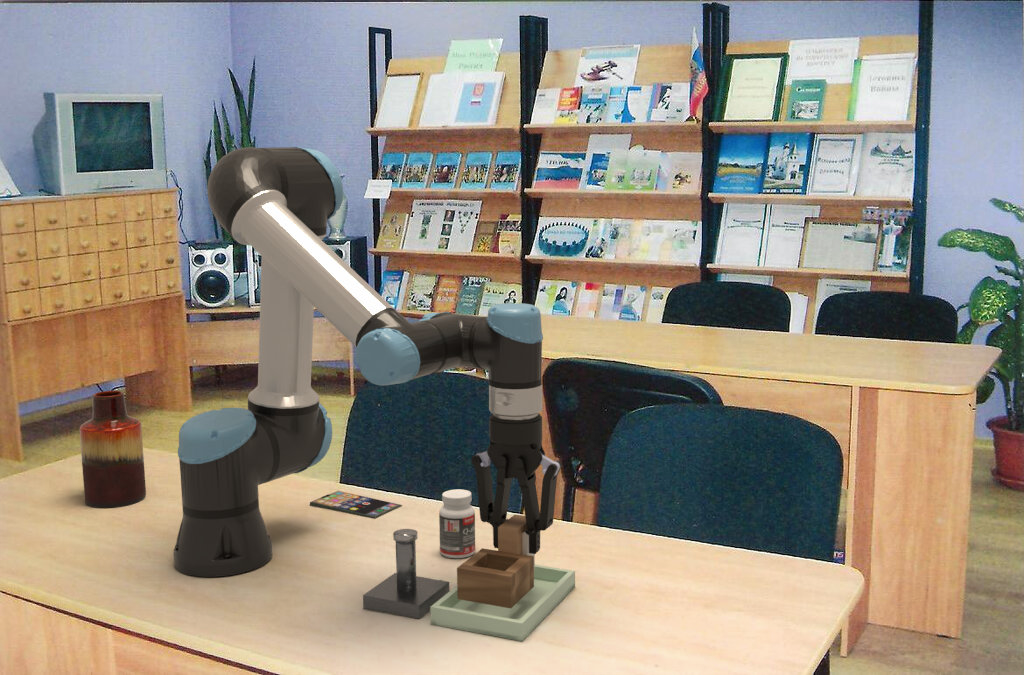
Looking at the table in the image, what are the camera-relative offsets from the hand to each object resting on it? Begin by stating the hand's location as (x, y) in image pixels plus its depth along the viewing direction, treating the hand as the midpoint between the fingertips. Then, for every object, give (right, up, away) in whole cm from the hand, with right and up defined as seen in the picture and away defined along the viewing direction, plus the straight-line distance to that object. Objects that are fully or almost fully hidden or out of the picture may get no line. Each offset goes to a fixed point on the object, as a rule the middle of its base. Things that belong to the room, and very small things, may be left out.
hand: (516, 571), depth 154 cm
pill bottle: (-9, -1, +17) cm, 20 cm away
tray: (-2, -4, -3) cm, 5 cm away
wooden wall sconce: (-2, -1, -4) cm, 4 cm away
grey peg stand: (-16, -4, -2) cm, 16 cm away
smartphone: (-29, +2, +41) cm, 51 cm away
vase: (-75, +3, +46) cm, 88 cm away
